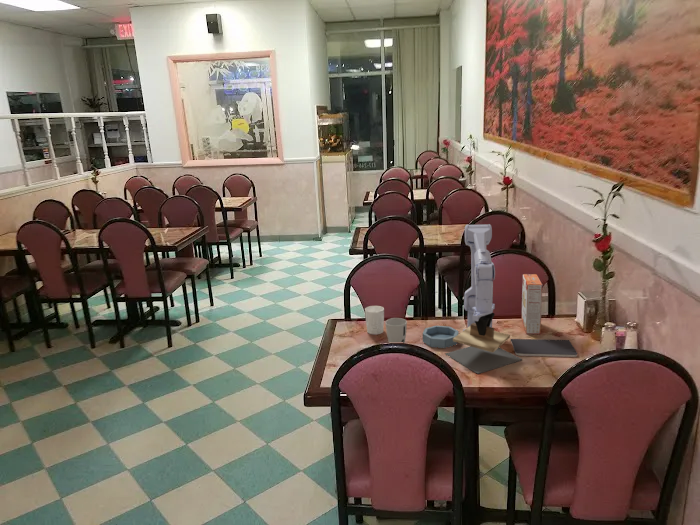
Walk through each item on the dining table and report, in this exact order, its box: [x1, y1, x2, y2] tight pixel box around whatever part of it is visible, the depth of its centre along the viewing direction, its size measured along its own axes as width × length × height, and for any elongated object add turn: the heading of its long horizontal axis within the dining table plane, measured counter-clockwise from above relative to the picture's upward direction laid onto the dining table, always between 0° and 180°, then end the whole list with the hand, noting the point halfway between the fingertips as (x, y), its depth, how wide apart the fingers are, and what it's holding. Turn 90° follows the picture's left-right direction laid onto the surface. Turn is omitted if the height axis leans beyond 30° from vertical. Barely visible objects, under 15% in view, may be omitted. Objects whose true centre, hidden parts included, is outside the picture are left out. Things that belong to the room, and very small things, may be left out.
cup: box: [384, 317, 408, 344], centre depth 194 cm, size 8×8×10 cm
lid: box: [453, 323, 511, 352], centre depth 180 cm, size 15×15×5 cm
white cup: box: [364, 305, 385, 335], centre depth 208 cm, size 8×8×10 cm
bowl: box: [422, 325, 460, 349], centre depth 197 cm, size 13×13×4 cm
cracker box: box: [521, 273, 543, 335], centre depth 203 cm, size 14×6×21 cm, turn 169°
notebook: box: [510, 338, 578, 358], centre depth 186 cm, size 13×2×21 cm
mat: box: [444, 346, 523, 375], centre depth 182 cm, size 20×18×1 cm
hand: (483, 333), depth 179 cm, fingers closed on lid
